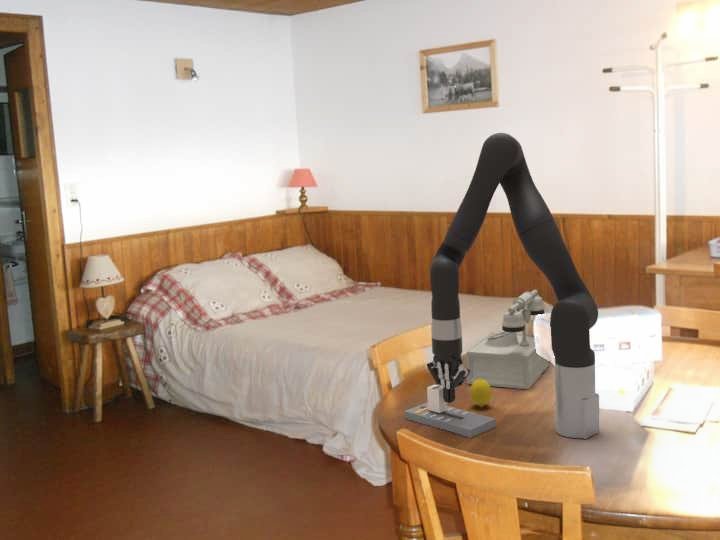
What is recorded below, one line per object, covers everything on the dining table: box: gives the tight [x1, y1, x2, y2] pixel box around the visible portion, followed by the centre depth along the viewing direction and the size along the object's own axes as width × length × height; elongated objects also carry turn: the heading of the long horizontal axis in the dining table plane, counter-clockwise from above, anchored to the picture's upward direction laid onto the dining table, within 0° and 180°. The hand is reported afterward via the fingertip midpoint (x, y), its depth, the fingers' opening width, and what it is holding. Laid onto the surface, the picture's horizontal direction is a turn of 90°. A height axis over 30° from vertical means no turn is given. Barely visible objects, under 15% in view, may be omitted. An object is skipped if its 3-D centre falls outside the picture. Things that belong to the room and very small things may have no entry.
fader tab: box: [426, 384, 448, 413], centre depth 211 cm, size 4×3×6 cm
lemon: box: [469, 378, 492, 408], centre depth 218 cm, size 6×6×8 cm
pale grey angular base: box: [465, 289, 550, 390], centre depth 245 cm, size 32×20×25 cm, turn 153°
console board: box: [404, 401, 497, 439], centre depth 209 cm, size 22×10×2 cm, turn 42°
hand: (449, 401), depth 208 cm, fingers closed
